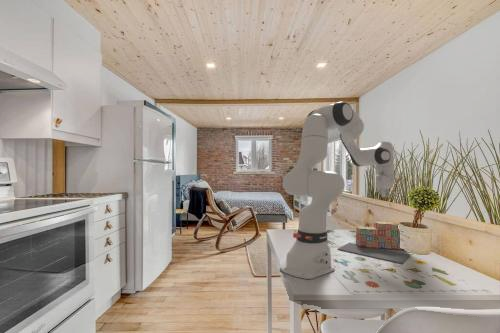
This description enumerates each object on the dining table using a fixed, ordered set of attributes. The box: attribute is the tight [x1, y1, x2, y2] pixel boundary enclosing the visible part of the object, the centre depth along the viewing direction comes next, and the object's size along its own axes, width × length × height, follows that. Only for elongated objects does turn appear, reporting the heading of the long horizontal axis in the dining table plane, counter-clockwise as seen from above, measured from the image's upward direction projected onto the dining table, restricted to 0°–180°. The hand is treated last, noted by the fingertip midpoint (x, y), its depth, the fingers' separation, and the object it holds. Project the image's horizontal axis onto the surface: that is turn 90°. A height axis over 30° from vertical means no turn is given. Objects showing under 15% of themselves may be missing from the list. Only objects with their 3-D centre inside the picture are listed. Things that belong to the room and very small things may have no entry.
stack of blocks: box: [355, 221, 404, 250], centre depth 127 cm, size 21×6×12 cm, turn 84°
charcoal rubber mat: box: [336, 242, 411, 265], centre depth 118 cm, size 15×28×1 cm, turn 47°
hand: (384, 196), depth 135 cm, fingers open, 4 cm apart
